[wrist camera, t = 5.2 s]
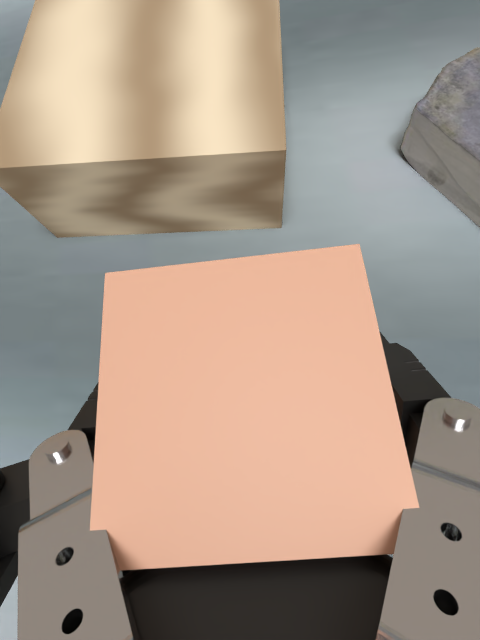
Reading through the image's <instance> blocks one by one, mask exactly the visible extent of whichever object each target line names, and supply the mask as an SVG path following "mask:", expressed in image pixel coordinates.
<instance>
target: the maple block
mask: <svg viewBox="0 0 480 640" xmlns="http://www.w3.org/2000/svg"><path fill="white" fill-rule="evenodd" d="M285 161H286V136H285V115H284V94H283V72H282V51H281V30H280V9H279V0H35V3H34V7H33V10H32V13H31V16H30V19H29V22H28V25H27V28H26V31H25V34H24V37H23V40H22V44H21V47H20V50H19V53H18V56H17V59H16V62H15V65H14V68H13V71H12V74H11V78H10V81H9V84H8V87H7V90H6V93H5V96H4V99H3V102H2V105H1V108H0V187H1V188H2V189H3V190H5V191H6V192H7V193H8V194H9V195H10V196H11V197H12V198H14V199H15V200H16V201H17V202H18V203H19V204H20V205H21V206H22V207H24V208H25V209H26V210H27V211H28V212H29V213H30V214H31V215H33V216H34V217H35V218H36V219H37V220H38V221H39V222H40V223H42V224H43V225H44V226H45V227H46V228H47V229H48V230H49V231H50V232H52V233H53V234H54V235H55V236H56V237H57V238H59V237H82V236H105V235H128V234H151V233H174V232H197V231H220V230H243V229H265V228H281V226H282V209H283V193H284V177H285Z"/></svg>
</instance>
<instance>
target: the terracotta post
mask: <svg viewBox="0 0 480 640" xmlns="http://www.w3.org/2000/svg"><path fill="white" fill-rule="evenodd" d="M410 508H419V503H418V499H417V495H416V490H415V486H414V481H413V477H412V473H411V468H410V464H409V459H408V455H407V451H406V446H405V442H404V438H403V433H402V429H401V424H400V420H399V416H398V411H397V407H396V402H395V398H394V394H393V389H392V385H391V380H390V376H389V372H388V367H387V363H386V359H385V354H384V350H383V345H382V341H381V337H380V332H379V328H378V323H377V319H376V315H375V310H374V306H373V301H372V297H371V293H370V288H369V284H368V280H367V275H366V271H365V266H364V262H363V258H362V253H361V249H360V244H355V245H346V246H337V247H328V248H320V249H311V250H302V251H294V252H285V253H276V254H267V255H259V256H250V257H241V258H232V259H224V260H215V261H206V262H197V263H189V264H180V265H171V266H163V267H154V268H145V269H136V270H128V271H119V272H110V273H105V285H104V301H103V318H102V335H101V351H100V368H99V385H98V401H97V418H96V434H95V451H94V468H93V484H92V501H91V518H90V531H92V530H107V533H108V536H109V539H110V542H111V545H112V548H113V551H114V554H115V556H116V559H117V562H118V565H119V568H120V571H121V570H137V569H154V568H170V567H187V566H203V565H220V564H236V563H253V562H269V561H286V560H302V559H319V558H335V557H351V556H368V555H384V554H394V551H395V546H396V541H397V536H398V531H399V526H400V522H401V517H402V512H403V509H410Z"/></svg>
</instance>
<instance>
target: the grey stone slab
mask: <svg viewBox="0 0 480 640" xmlns="http://www.w3.org/2000/svg"><path fill="white" fill-rule="evenodd" d="M400 148H401V150H402V152H403V154H404V157H405V158H406V159H407V161H408V162H409V164H410V165H411V166H412V167H413V168H414V169H415V170H416V171H417V172H418V173H419V174H420V175H421V176H422V177H423V178H424V179H425V180H426V181H428V182H429V183H430V184H431V185H432V186H433V187H435V188H436V189H437V190H438V191H439V192H441V193H442V194H443V195H444V196H445V197H446V198H447V199H449V200H450V201H451V202H452V203H453V204H454V205H455V206H457V207H458V208H459V209H460V210H461V211H462V212H463V213H464V214H465V215H466V216H468V217H469V218H470V219H471V220H472V221H473V222H474V223H475V224H476V225H478V226H479V227H480V48H478V47H477V48H475V49H473V50H472V51H470V52H468V53H467V54H465V55H464V56H462V57H460V58H458V59H456V60H454V61H452V62H450V63H448V64H447V65H446V66H445V67H443V68H442V71H441V73H440V74H439V75H438V76H437V77H436V79H435V80H434V82H433V84H432V86H431V87H430V89H429V91H428V92H427V94H426V95H425V97H424V98H423V99H422V100H420V101H419V102H418V103H417V104H416V106H415V108H414V110H413V113H412V116H411V119H410V123H409V126H408V128H407V130H406V132H405V134H404V138H403V142H402V145H401V147H400Z"/></svg>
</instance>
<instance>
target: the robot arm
mask: <svg viewBox="0 0 480 640" xmlns="http://www.w3.org/2000/svg"><path fill="white" fill-rule="evenodd" d="M379 332H380V331H379ZM380 337H381V341H382V345H383V350H384V354H385V359H386V363H387V367H388V372H389V376H390V380H391V385H392V389H393V394H394V398H395V402H396V407H397V411H398V416H399V420H400V424H401V429H402V433H403V438H404V442H405V446H406V451H407V455H408V459H409V464H410V468H411V473H412V477H413V481H414V486H415V490H416V495H417V499H418V503H419V508H410V509H403V512H402V517H401V522H400V526H399V531H398V536H397V541H396V546H395V551H394V555H393V558H392V557H390V556H389V555H387V554H384V555H368V556H351V557H335V558H319V559H302V560H286V561H269V562H253V563H236V564H220V565H203V566H187V567H170V568H154V569H137V570H121V571H120V568H119V565H118V562H117V559H116V556H115V554H114V551H113V548H112V545H111V542H110V539H109V536H108V533H107V530H92V531H90V518H91V501H92V484H93V468H94V451H95V434H96V418H97V401H98V385H99V382H98V384H97V385H96V387H95V388H94V390H93V392H92V393H91V394H90V396H89V398H88V401H86V402H85V404H84V405H83V407H82V408H81V410H80V412H79V413H78V415H77V416H76V418H75V419H74V421H73V422H72V424H71V426H70V427H69V429H68V430H67V431H63V432H60V433H58V434H55V435H53V436H51V437H50V438H48V439H46V440H45V441H44V442H42V443H41V444H40V445H39V446H38V447H37V448H36V449H35V450H34V452H33V453H32V455H31V457H30V459H29V460H25V461H22V462H19V463H16V464H13V465H10V466H7V467H4V468H1V469H0V606H1V605H2V603H3V601H4V599H5V597H6V596H7V594H8V592H9V590H10V588H11V587H12V585H13V583H14V581H15V579H16V577H17V576H18V640H480V409H479V408H478V407H476V406H474V405H472V404H470V403H468V402H465V401H462V400H459V399H454V398H451V397H450V396H449V394H448V393H447V392H446V391H445V390H444V389H443V388H442V386H441V385H440V384H439V383H438V382H437V381H436V380H435V379H434V377H433V376H432V375H431V374H430V373H429V372H428V371H426V368H425V367H424V366H423V365H422V364H421V363H420V362H419V360H418V359H417V358H416V357H415V356H414V355H413V353H412V352H411V351H410V350H408V349H406V348H404V347H403V346H401V345H399V344H397V343H391V344H389V342H388V341H387V340H386V339H385V337H384V336H383V335H382V334H381V332H380Z"/></svg>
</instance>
